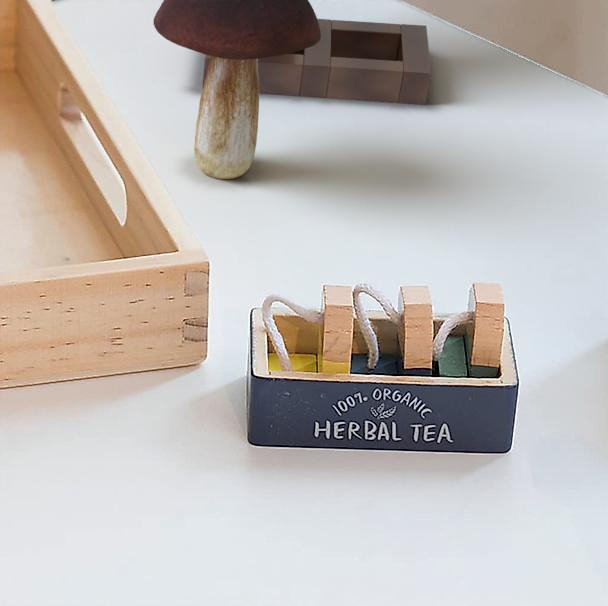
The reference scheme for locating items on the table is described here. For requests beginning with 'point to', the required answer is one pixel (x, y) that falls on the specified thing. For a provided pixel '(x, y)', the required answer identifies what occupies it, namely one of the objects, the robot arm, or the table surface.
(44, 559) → the table surface
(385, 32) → the rack
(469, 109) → the table surface
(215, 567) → the table surface
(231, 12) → the decorative mushroom
